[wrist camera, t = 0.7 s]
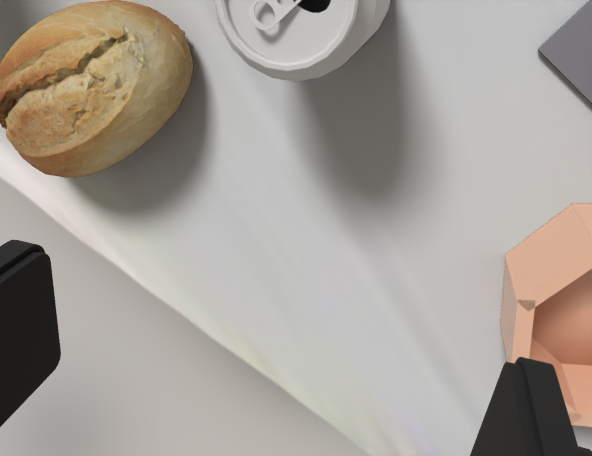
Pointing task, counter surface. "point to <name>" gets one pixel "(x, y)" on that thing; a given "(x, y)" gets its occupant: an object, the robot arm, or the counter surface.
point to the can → (298, 33)
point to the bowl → (554, 304)
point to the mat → (573, 50)
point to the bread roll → (92, 85)
